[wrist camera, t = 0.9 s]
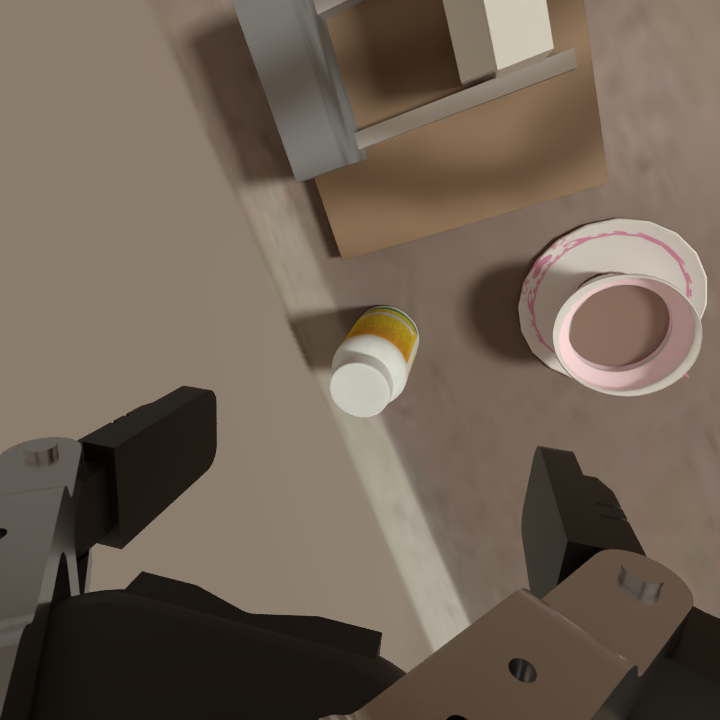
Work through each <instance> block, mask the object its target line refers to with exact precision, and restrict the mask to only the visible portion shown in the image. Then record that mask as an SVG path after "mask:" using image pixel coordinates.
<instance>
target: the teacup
mask: <svg viewBox="0 0 720 720" xmlns="http://www.w3.org/2000/svg"><path fill="white" fill-rule="evenodd" d="M609 271H613V272H622V273H625V274H607V275H602V276H598V277H595V278H593V279H591V280H589V281H587V282H586V283H584V284H583V285H582V286H580V285H581V284H582V283H583V282H584V281H585V280H587V279H588V278H590V277H592V276H594V275H596V274H598V273H604V272H609ZM579 286H580V287H579ZM578 287H579V288H578ZM577 288H578V289H577ZM706 305H707V276H706V274H705V272H704V269H703V267H702V264H701V262H700V259H699V257H698V254H697V253H696V252H695V251H694V250H693V249H692V248H691V247H690V246H689V245H688V244H687V243H686V242H685V241H684V240H683V239H682V238H681V237H680V236H679V235H678V234H677V233H676V232H673V231H671V230H669V229H666V228H664V227H662V226H660V225H657V224H655V223H653V222H650V221H647V220H635V219H624V218H615V219H610V220H605V221H600V222H595V223H590V224H586V225H584V226H582V227H580V228H578V229H576V230H574V231H572V232H570V233H568V234H566V235H564V236H563V237H561V238H559V239H557V240H556V241H555V242H554V243H553V244H552V245H551V246H550V247H549V248H548V249H547V250H546V251H545V252H544V253H542V254H541V255H540V256H539V257H538V258H537V259H536V261H535V263H534V265H533V266H532V268H531V270H530V271H529V273H528V275H527V277H526V278H525V280H524V282H523V285H522V290H521V295H520V300H519V305H518V310H519V317H520V325H521V332H522V333H523V335H524V337H525V339H526V341H527V343H528V345H529V346H530V348H531V350H532V352H533V353H534V354H535V355H536V356H537V357H539V358H540V359H541V360H542V361H543V362H544V363H545V364H546V365H547V366H549V367H550V368H551V369H553V370H556V371H558V372H560V373H562V374H564V375H567V376H569V377H571V378H573V379H574V380H576V381H577V382H578V383H580V384H582V385H583V386H585V387H587V388H589V389H592V390H594V391H597V392H600V393H604V394H608V395H615V396H638V395H644V394H649V393H652V392H656V391H658V390H661V389H663V388H665V387H668V386H669V385H671V384H673V383H674V382H676V381H677V380H679V379H680V378H681V377H682V376H684V377H686V378H689V375H688V374H687V373H686V372H687V371H688V370H689V369H690V368H691V366H692V365H693V364H694V362H695V360H696V358H697V356H698V354H699V351H700V348H701V343H702V324H701V318H702V315H703V313H704V310H705V308H706Z"/></svg>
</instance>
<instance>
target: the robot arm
mask: <svg viewBox="0 0 720 720" xmlns="http://www.w3.org/2000/svg"><path fill="white" fill-rule="evenodd" d="M216 418H217V417H216V396H215V394H214V392H213V391H211V390H207V389H201V388H195V387H188V386H182V387H180V388H178V389H176V390H175V391H173V392H171V393H169V394H168V395H166V396H164V397H162V398H160V399H158V400H157V401H155V402H153V403H149V404H146V405H143V406H140V407H138V408H137V409H135V410H133V411H131V412H129V413H127V414H126V416H122V417H120V418H118V419H116V420H114V422H113V423H109V424H107V425H105V426H103V427H101V428H100V429H98V430H96V431H94V432H92V433H91V434H89V435H87V436H85V437H83V438H81V439H79V440H78V441H76V440H74V439H70V438H63V437H48V438H40V439H34V440H30V441H26V442H23V443H20V444H18V445H15V446H13V447H11V448H9V449H7V450H6V451H4V452H3V453H2V454H1V455H0V720H720V619H719V618H717V617H714V616H712V615H710V614H708V613H705V612H703V611H701V610H700V609H698V608H696V607H694V606H693V600H694V599H693V596H692V593H691V591H690V589H689V588H688V586H687V585H686V584H685V582H684V581H683V580H682V579H681V578H680V577H679V576H677V575H676V574H675V573H674V572H672V571H671V570H670V569H668V568H667V567H665V566H664V565H662V564H660V563H658V562H656V561H654V560H652V559H650V558H648V557H647V556H646V555H645V553H644V551H643V549H642V547H641V545H640V543H639V541H638V539H637V537H636V535H635V533H634V531H633V529H632V527H631V526H630V524H629V522H627V518H626V516H625V514H624V512H623V510H621V506H620V504H619V502H618V500H617V498H616V497H615V495H614V493H613V491H611V490H610V489H609V488H608V487H607V486H606V485H604V484H603V483H602V482H601V481H600V480H599V479H597V478H596V477H590V476H585V475H583V473H582V471H581V469H580V466H579V464H578V462H577V459H576V457H575V455H574V453H573V452H571V451H566V450H560V449H554V448H548V447H542V446H538V447H537V448H536V451H535V454H534V458H533V463H532V468H531V473H530V477H529V482H528V487H527V492H526V497H525V501H524V506H523V513H522V527H521V528H522V539H523V546H524V553H525V559H526V566H527V573H528V579H529V586H530V591H529V590H527V589H525V588H523V589H519V590H517V591H515V592H514V593H512V594H511V595H510V596H508V597H507V598H506V599H504V600H503V601H502V602H500V603H499V604H498V605H496V606H495V607H494V608H493V609H491V610H490V611H489V612H487V613H486V614H485V615H483V616H482V617H481V618H479V619H478V620H477V621H475V622H474V623H473V624H472V625H470V626H469V627H468V628H466V629H465V630H464V631H462V632H461V633H460V634H458V635H457V636H456V637H454V638H453V639H452V640H450V641H449V642H448V643H447V644H445V645H444V646H443V647H441V648H440V649H439V650H437V651H436V652H435V653H433V654H432V655H431V656H430V657H428V658H427V659H425V660H424V661H423V662H422V663H420V664H419V665H418V666H416V667H415V668H414V669H412V670H411V671H410V672H408V673H405V672H404V671H403V670H401V669H400V668H398V667H397V666H395V665H394V664H393V663H391V662H389V661H388V660H386V659H384V658H382V657H380V656H379V654H380V646H381V638H382V633H381V632H378V631H374V630H370V629H366V628H362V627H358V626H354V625H350V624H346V623H342V622H339V621H335V620H331V619H327V618H323V617H319V616H294V615H268V614H251V613H247V612H245V611H242V610H240V609H239V608H237V607H235V606H233V605H231V604H230V603H228V602H226V601H224V600H222V599H221V598H219V597H217V596H215V595H213V594H211V593H210V592H208V591H206V590H204V589H202V588H201V587H199V586H197V585H193V584H190V583H185V582H182V581H178V580H174V579H169V578H166V577H162V576H158V575H154V574H150V573H146V572H143V571H142V572H141V573H140V574H139V575H138V576H137V577H136V578H135V579H134V580H133V581H132V582H131V583H130V584H129V586H128V587H127V588H126V589H123V590H122V589H117V590H104V591H97V592H89V588H90V579H91V569H92V552H91V547H92V546H94V545H95V544H96V543H99V544H102V545H107V546H111V547H115V548H119V549H122V548H123V547H125V545H127V544H128V543H129V542H130V541H131V540H132V539H133V538H134V537H135V536H136V535H138V534H139V533H140V532H141V531H142V530H143V529H144V528H145V527H146V526H147V525H148V524H149V523H151V522H152V521H153V520H154V519H155V518H156V517H157V516H158V515H159V514H160V513H162V512H163V511H164V510H165V509H166V508H167V507H168V506H169V505H170V504H171V503H172V502H174V500H176V499H177V498H178V497H179V496H180V495H181V494H182V493H183V492H184V491H185V490H187V489H188V488H189V487H190V486H191V485H192V484H193V483H194V482H195V481H196V480H197V479H199V478H200V477H201V476H202V475H203V474H204V473H205V472H206V471H207V470H208V469H209V468H210V466H211V465H212V463H213V460H214V457H215V454H216V447H217V431H216V429H217V426H216V425H217V422H216Z"/></svg>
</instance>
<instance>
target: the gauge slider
mask: <svg viewBox="0 0 720 720" xmlns="http://www.w3.org/2000/svg"><path fill="white" fill-rule="evenodd" d="M443 4H444V8H445V13H446V17H447V22H448V26H449V31H450V35H451V40H452V44H453V49H454V53H455V57H456V62H457V66H458V71H459V75H460V80H461V83H462V84H463V86H466V85H468V84H471V83H473V82H476V81H478V80H481V79H484V78H486V77H489V76H491V75H494V74H495V75H496V80H497V79H499V78H502V77H504V76H507V75H510V74H512V73H515V72H517V71H520V70H523V69H525V68H528V67H530V66H533V65H535V64H538V63H541V62H543V61H544V60H545V58H546V57H547V56H548V55H549V54H550V52H551V51H552V50H553V49H554V46H553V40H552V34H551V27H550V21H549V15H548V8H547V2H546V0H443Z"/></svg>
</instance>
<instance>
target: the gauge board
mask: <svg viewBox="0 0 720 720" xmlns="http://www.w3.org/2000/svg"><path fill="white" fill-rule="evenodd" d="M546 2H547V8H548V15H549V21H550V27H551V34H552V40H553V46H554V49H553V50H552V51H551V52H550V54H549V55H548V56H547V57H546V58H545V60H544V61H543V62H541V63H538V64H535V65H533V66H530V67H528V68H525V69H523V70H520V71H517V72H515V73H512V74H510V75H507V76H504V77H502V78H499V79H497V80H496V75H495V74H494V75H491V76H489V77H486V78H484V79H481V80H478V81H476V82H473V83H471V84H468V85H466V86H463V84H462V83H461V80H460V75H459V71H458V66H457V62H456V57H455V53H454V49H453V44H452V40H451V35H450V31H449V26H448V22H447V17H446V13H445V8H444V4H443V0H232V3H233V5H234V8H235V11H236V14H237V17H238V19H239V22H240V25H241V28H242V31H243V33H244V36H245V39H246V42H247V45H248V47H249V50H250V53H251V56H252V59H253V61H254V64H255V67H256V70H257V73H258V75H259V78H260V81H261V84H262V87H263V89H264V92H265V95H266V98H267V101H268V103H269V106H270V109H271V112H272V115H273V117H274V120H275V123H276V126H277V129H278V131H279V134H280V137H281V140H282V142H283V145H284V148H285V151H286V154H287V156H288V159H289V162H290V165H291V168H292V170H293V173H294V176H295V179H296V182H297V183H299V182H302V181H305V180H309V179H312V178H314V179H315V182H316V184H317V187H318V190H319V193H320V196H321V199H322V202H323V205H324V208H325V211H326V214H327V216H328V219H329V222H330V225H331V228H332V231H333V234H334V237H335V240H336V243H337V246H338V248H339V251H340V254H341V257H342V260H347V259H350V258H353V257H357V256H360V255H364V254H367V253H370V252H374V251H377V250H381V249H384V248H388V247H391V246H394V245H398V244H401V243H405V242H408V241H412V240H415V239H418V238H422V237H425V236H429V235H432V234H435V233H439V232H442V231H446V230H449V229H453V228H456V227H459V226H463V225H466V224H470V223H473V222H476V221H480V220H483V219H487V218H490V217H494V216H497V215H500V214H504V213H507V212H511V211H514V210H517V209H521V208H524V207H528V206H531V205H535V204H538V203H541V202H545V201H548V200H552V199H555V198H558V197H562V196H565V195H569V194H572V193H576V192H579V191H582V190H586V189H589V188H593V187H596V186H599V185H603V184H606V183H608V175H607V168H606V161H605V153H604V146H603V139H602V131H601V124H600V117H599V109H598V102H597V95H596V87H595V80H594V73H593V65H592V58H591V51H590V43H589V36H588V28H587V21H586V14H585V6H584V0H546Z"/></svg>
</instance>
